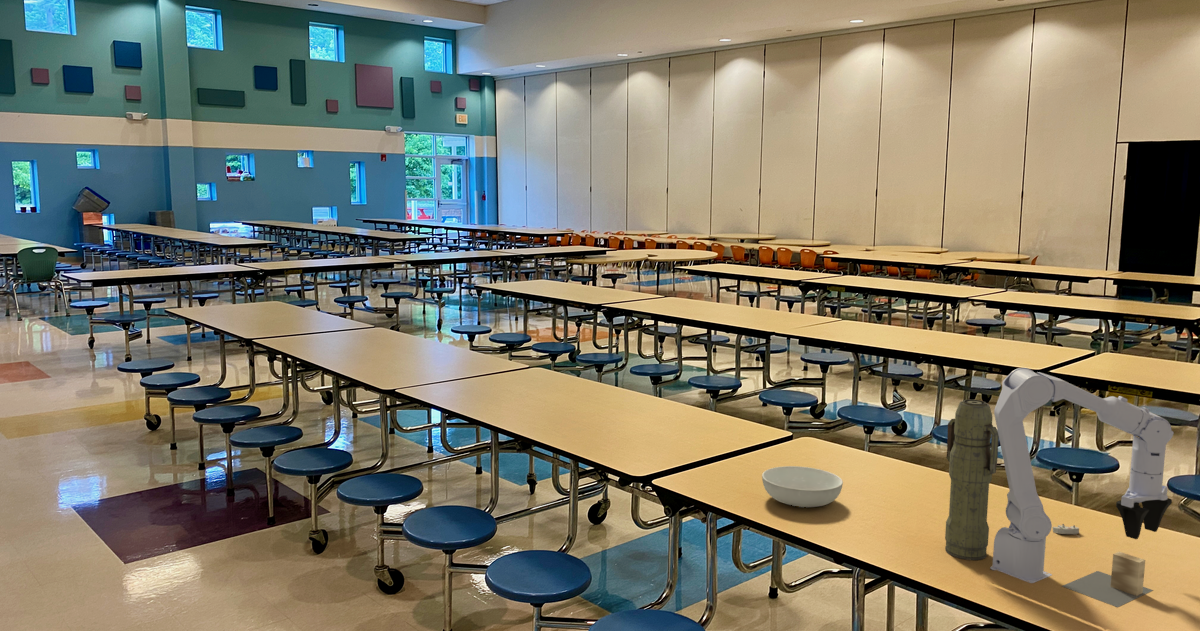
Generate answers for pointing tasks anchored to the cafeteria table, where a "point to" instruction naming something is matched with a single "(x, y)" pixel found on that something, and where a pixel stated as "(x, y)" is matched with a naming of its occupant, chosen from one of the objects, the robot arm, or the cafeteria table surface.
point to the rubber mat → (1102, 589)
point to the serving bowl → (802, 485)
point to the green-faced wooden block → (1127, 573)
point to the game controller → (1066, 529)
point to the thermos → (970, 479)
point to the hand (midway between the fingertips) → (1141, 533)
